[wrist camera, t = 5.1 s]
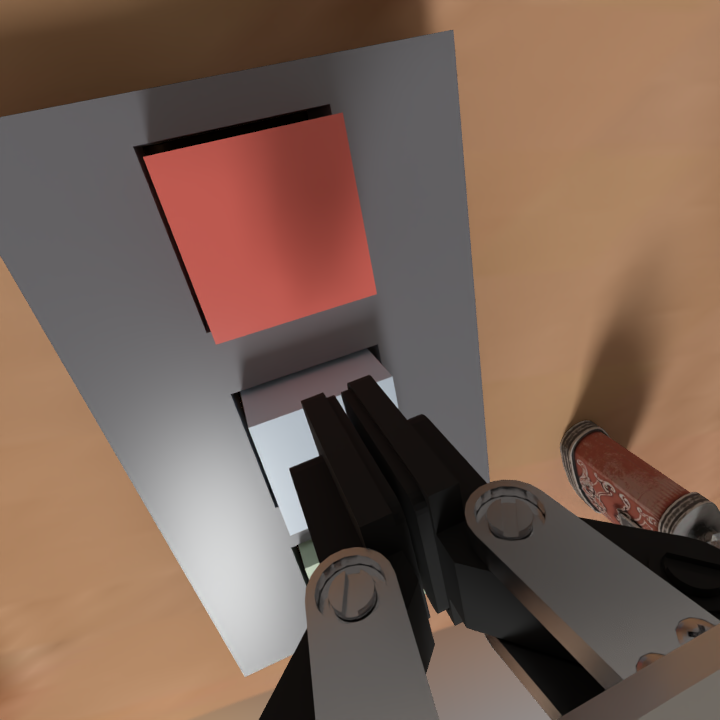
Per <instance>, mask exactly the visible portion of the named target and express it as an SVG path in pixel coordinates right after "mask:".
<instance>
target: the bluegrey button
mask: <svg viewBox="0 0 720 720" xmlns="http://www.w3.org/2000/svg"><path fill="white" fill-rule="evenodd" d="M367 375H371V376H372V378H373V379H374V380H375V381H376V382H377V384H378V385H379V386H380V387H381V388H382V390H383V391H384V392H385V393H386V395H387V396H388V397H389V398H390V399H391V401H392V402H393V403H394V404H395V406H396V407H397V408H398V403H397V397H396V392H395V387H394V382H393V376H392V375H391V374H390V373H389V372H388V371H387V370H386V369H385V368H384V367H383V365H382V364H381V363H380V362H379V361H378V360H377V359H376V358H375V357H374V356H373V354H372V353H371V352H370V351H369V350H368V349H367V348H366V349H363V350H360V351H357V352H354V353H351V354H348V355H345V356H342V357H339V358H336V359H333V360H330V361H327V362H324V363H321V364H318V365H315V366H313V367H310V368H307V369H304V370H301V371H298V372H295V373H292V374H289V375H286V376H283V377H280V378H277V379H274V380H271V381H268V382H265V383H262V384H260V385H257V386H254V387H251V388H248V389H245V390H242V391H240V393H241V397H242V402H243V406H244V411H245V415H246V420H247V424H248V429H249V431H250V434H251V436H252V439H253V441H254V444H255V447H256V449H257V452H258V454H259V457H260V459H261V462H262V465H263V467H264V470H265V472H266V475H267V477H268V480H269V483H270V485H271V488H272V490H273V493H274V495H275V498H276V501H277V503H278V506H279V508H280V511H281V513H282V516H283V519H284V521H285V524H286V526H287V529H288V531H289V534H290V536H291V535H293V534H296V533H298V532H301V531H303V530H306V529H308V527H307V523H306V520H305V517H304V514H303V511H302V508H301V505H300V502H299V499H298V496H297V493H296V490H295V486H294V483H293V480H292V477H291V474H290V471H289V468H291V467H293V466H296V465H298V464H300V463H303V462H305V461H308V460H310V459H313V458H315V457H318V456H319V454H318V451H317V448H316V445H315V442H314V439H313V436H312V433H311V430H310V428H309V425H308V422H307V419H306V416H305V413H304V410H303V407H302V404H301V401H302V400H304V399H307V398H309V397H312V396H315V395H317V394H320V393H322V392H323V393H324V394H325V396H326V397H330V396H332V395H335V396H336V398H337V400H338V401H339V403H340V405H341V406H342V408H343V410H344V411H345V407H344V404H343V400H342V397H341V392H343V391H345V390H348V388H347V383H349V382H351V381H354V380H356V379H359V378H362V377H364V376H367ZM398 409H399V408H398ZM345 413H346V411H345Z"/></svg>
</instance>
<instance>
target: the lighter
mask: <svg viewBox="0 0 720 720" xmlns="http://www.w3.org/2000/svg"><path fill="white" fill-rule="evenodd" d="M560 451H561V456H562V462H563V466H564V469H565V472H566V475H567V478H568V480H569V482H570V484H571V485H572V487H573V489H574V490H575V492H576V493H577V494H578V496H579V497H580V498H581V499H582V500H583V501H584V502H585V503H586V504H587V505H589V506H590V507H591V508H592V509H593V510H594V511H595V512H597V513H602V514H603V515H604V516H606V517H607V518H608V519H609V520H610V521H611V522H612V523H614V524H619V525H625V526H630V527H636V528H641V529H647V530H652V531H658V532H664V533H669V534H675V535H680V536H686V537H690V538H694V539H697V540H701V541H704V542H711V541H712V536H713V534H717V533H720V511H719V510H718V508H717V506H716V505H715V504H714V503H712V502H711V501H709V500H708V499H706V498H705V497H703V496H702V495H700V494H699V493H697V492H691V493H690V492H689V491H687V490H686V489H684V488H683V487H681V486H680V485H678V484H677V483H675V482H674V481H672V480H671V479H670V478H668V477H667V476H665V475H664V474H662V473H661V472H659V471H658V470H656V469H655V468H653V467H652V466H650V465H649V464H647V463H646V462H645V461H643V460H642V459H640V458H639V457H637V456H636V455H634V454H633V453H631V452H630V451H628V450H627V449H625V448H624V447H622V446H621V445H620V444H618V443H617V442H615V441H614V440H612V439H611V438H610V437H609V435H608V434H607V433H606V431H605V430H603V429H602V428H600V427H599V426H597V425H596V424H594V423H593V422H591V421H586V420H585V421H582V422H579V423H577V424H576V425H574V426H572V427H571V428H570V429H569V430H568V431H567V432H566V434H565V435H564V437H563V438H562V441H561V443H560Z"/></svg>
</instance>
